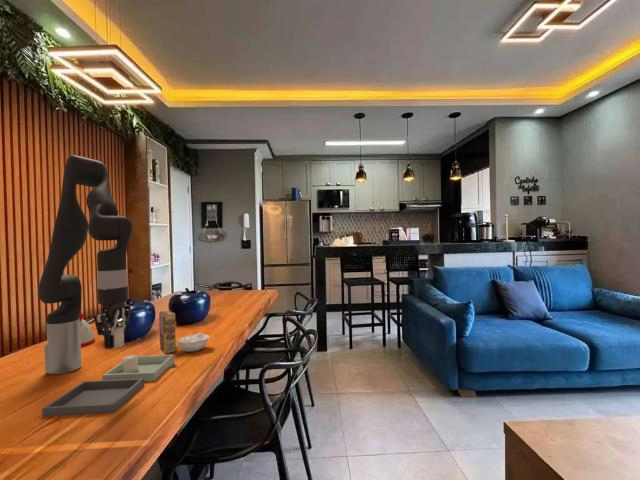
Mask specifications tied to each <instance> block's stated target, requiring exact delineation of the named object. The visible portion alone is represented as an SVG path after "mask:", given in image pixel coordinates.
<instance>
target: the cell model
mask: <svg viewBox="0 0 640 480" xmlns="http://www.w3.org/2000/svg"><path fill="white" fill-rule="evenodd" d="M209 339H210V336H209V335H208V334H204V333H201V332H198V333H195V334H189V335H187V336H183V337H180V338H178V340H177V344H178V346H179V348H180V349H181V350H183V351H184V352H186V353H188V352H189V353H191V352H198V351H200V350H202V349H203V348H205V346H206V345H207V343H208V341H209Z"/></svg>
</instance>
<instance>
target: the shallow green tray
mask: <svg viewBox="0 0 640 480" xmlns="http://www.w3.org/2000/svg"><path fill="white" fill-rule="evenodd" d="M174 365H175V354H162V355H161V354H160V355H159V354H158V355H141V356H140V355H138V372H137V373H123V366H122V361H121V362H119V363H118V364H117V365H115V366H114V367H113V368H111V369H109V370H108V371H107V372H105V373H103V374H102V377H101V378H102V379H101V380H117V379H136V378H144V383H145V382H154V381H156V380H157V379H158V378H159V377H160V376H162V374H163V373H164V372H165V371H167V369H171V368H172V367H174Z"/></svg>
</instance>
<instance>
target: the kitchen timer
mask: <svg viewBox="0 0 640 480" xmlns="http://www.w3.org/2000/svg"><path fill="white" fill-rule="evenodd" d="M84 315H85V314H84V313H82V311H81V312H80V339H81V348H84V347H88V346H91V345H93V344H94V343H95V342H96V336H95V333H94V331H93V327H94V326H93V325H91V324H89V322H87V320H85V319H83V318H84Z"/></svg>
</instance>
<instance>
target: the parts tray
mask: <svg viewBox="0 0 640 480" xmlns="http://www.w3.org/2000/svg"><path fill="white" fill-rule="evenodd" d="M144 385H145V382H144V378H136V379H117V380H102V379H99V380H83V381H82V382H80V383H79V384H77V385H76V386H74V387H72V388H71V389H70V390H68V391H66V392H65V393H63V394H62V395H60V396H59V397H58V398H56V399H55V400H52V401H51V402H50V403H48V404H47V405H45V406H44V407H42V408H41V412H42V417H58V416H76V415H77V416H78V415H95V414H99V415H100V414H114V413H116V412H117V411H118V410H119V409H120V408H121V407H122V406H123V405H124V404H125V403H127V401H128V400H129V399H131V398H132V397H133V396H134V395H135V394H136V393H137V392H138V391H139V390H140V389H141V388H142V387H143V386H144Z"/></svg>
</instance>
